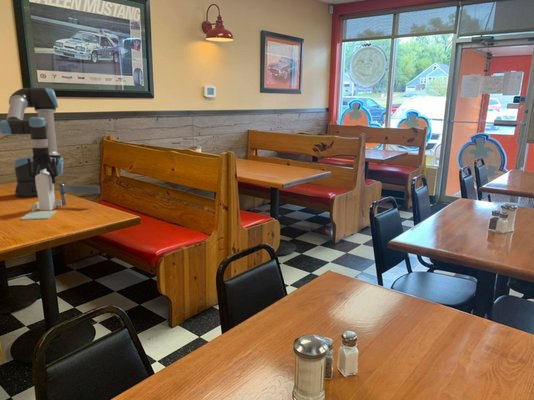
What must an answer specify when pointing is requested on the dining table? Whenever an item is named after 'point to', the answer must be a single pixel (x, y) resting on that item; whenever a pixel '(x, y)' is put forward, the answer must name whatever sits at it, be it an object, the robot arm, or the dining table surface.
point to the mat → (38, 215)
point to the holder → (58, 203)
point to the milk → (45, 191)
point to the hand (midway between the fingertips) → (45, 189)
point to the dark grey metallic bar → (79, 189)
